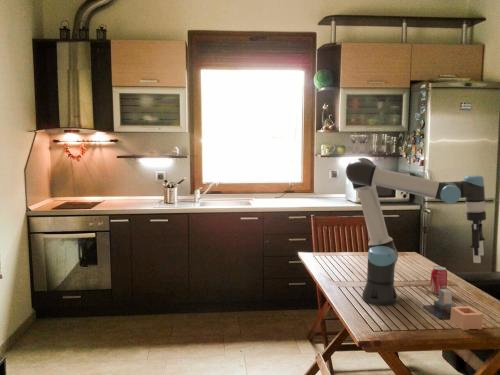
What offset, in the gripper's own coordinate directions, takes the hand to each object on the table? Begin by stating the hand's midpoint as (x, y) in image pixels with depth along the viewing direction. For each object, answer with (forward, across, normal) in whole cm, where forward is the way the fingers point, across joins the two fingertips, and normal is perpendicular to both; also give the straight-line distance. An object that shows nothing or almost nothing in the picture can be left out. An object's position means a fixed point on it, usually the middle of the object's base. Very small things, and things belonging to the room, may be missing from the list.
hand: (478, 258), depth 192 cm
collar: (+19, -29, +3) cm, 35 cm away
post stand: (+19, -20, +12) cm, 30 cm away
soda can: (+19, +5, +19) cm, 27 cm away
